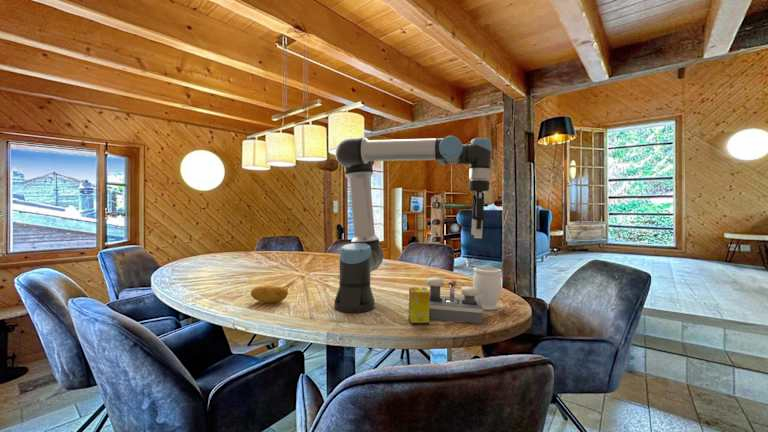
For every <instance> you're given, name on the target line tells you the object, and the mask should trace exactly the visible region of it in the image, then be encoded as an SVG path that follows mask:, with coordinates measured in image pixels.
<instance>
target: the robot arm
mask: <svg viewBox="0 0 768 432" xmlns="http://www.w3.org/2000/svg"><path fill="white" fill-rule="evenodd" d="M334 154H335V159H336V161H337V162H338V163H339V164H340V165H341V166H342V167H343V168H344V176H345V177H346V178H347V179H348V180H349V181H348V182H349V188H350V190H349V192H350V204H351V212H352V224H353V236H354V237H353V238H352V239H351V241H350V242H351V243H347V244H344V245H342V246H341V247H340V248H339V249H340V250H339V252H340V253H339V285H338V290H337V292H336V295H335V298H334V306H333V307H334V309H336V310H337V311H339V312H344V313H354V314H355V313H364V312H369V311H371V310H373V309H375V306H376V305H375V304H376V303H375V301H376V300H375V298H374V294H373V291H372V288H371V273H372V272H373V271H376V270H377V269H378V268H379V267H380V266H381V265H382V263H383V261H384V253H383V252H384V251H383V249H382V247H381V246H380V238H379V237H378V236H377V235H376V233H375V232H376V231H375V223H374V222H375V221H374V208H373V198H372V188H371V187H372V186H371V177H372V176H373V175H374V171H373V170H374V169H373V166H374V164H375V162H385V161H387V162H390V161H396V162H397V161H437V162H438V163H439V164H440V165H445V166H448V165H466V166H467V165H469V169H468V171H469V173H468V179H469V181H468V191H471V192H474V193H473V195H472V211H471V229H470V230H471V233H470V234H471V236H473V238H474V239H483V227H484V226H483V224H484V218H485V215H484V214H485V212H484V211H485V210H484V208H485V205H484V204H485V192H490V181H489V180H490V178H491V175H492V174H493V173H492V171H491V162H492V160H491V159H492V141H491V140H490V139H489V138H487V137H486V138H485V137H477V138H473V139H471V141H470V143H469V144H463V143H462V141H461V139H460V138H458V137H457V136H455V135H447V136H445V137H441V138H438V137H437V138H408V139H407V138H402V139H401V138H400V139H372V140H371V139H370V140H369V139H368V138H367V137H345V138H343V139H341V140H340V141H339V142H338V143H337V145H336V147H335V151H334Z"/></svg>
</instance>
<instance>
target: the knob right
mask: <svg viewBox="0 0 768 432" xmlns="http://www.w3.org/2000/svg"><path fill="white" fill-rule="evenodd" d="M460 292H461V293H460V294H461V295H463V296H464V304H470V305H475V296H477V295H478V288H476V287H473V286H469V285H468V286H466V285H465V286H461V291H460Z"/></svg>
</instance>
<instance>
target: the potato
mask: <svg viewBox="0 0 768 432" xmlns="http://www.w3.org/2000/svg"><path fill="white" fill-rule="evenodd" d="M250 295H251V297H252V299H254V300H256V301H257V302H261V303H263V304H276V303H277V304H279V303H280V302H282V301H284V300H285V299H286V298H287V297H288V295H289V291H288V289H287V288H286V287H283V286H277V285H262V286H260V285H259V286H256V287H254V288H252V290H251V292H250Z"/></svg>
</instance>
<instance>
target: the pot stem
mask: <svg viewBox="0 0 768 432" xmlns="http://www.w3.org/2000/svg"><path fill="white" fill-rule="evenodd" d="M447 284H448V285H449V296H450V299H449V300H446V303H457V304H458V301H457V300H454V297H455V291H456V289H455V286H457V284H458V283H457V280H453V279H449V280H448V283H447Z"/></svg>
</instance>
